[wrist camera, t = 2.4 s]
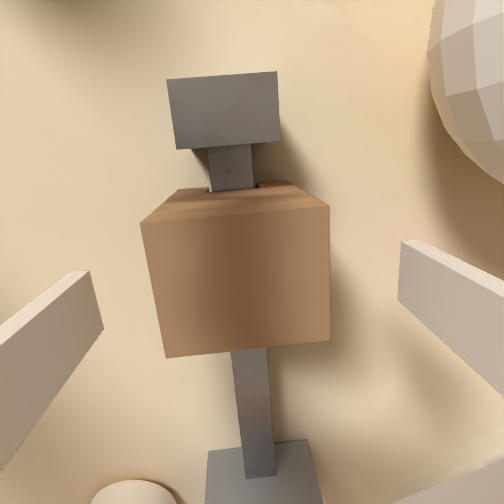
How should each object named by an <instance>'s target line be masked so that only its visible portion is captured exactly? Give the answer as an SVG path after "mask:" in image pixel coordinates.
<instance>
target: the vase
mask: <svg viewBox="0 0 504 504" xmlns="http://www.w3.org/2000/svg"><path fill="white" fill-rule="evenodd" d="M427 57H428V66H429V75H430V84H431V93H432V97H433V99H434V102H435V105H436V107H437V110H438V112H439V115H440V118H441V120H442V123H443V125H444V128H445V129H446V131H447V132H448V133H449V135H450V136H451V137H452V138H453V140H454V141H455V142H456V143H457V145H458V146H459V147H460V149H461V150H462V151H463V152H464V154H465V155H467V156H468V157H469V158H470V159H471V160H472V161H473V162H475V163H476V164H477V165H478V166H479V167H480V168H481V169H483V170H484V171H485V172H486V173H487V174H488V175H490V176H491V177H493V178H494V179H496V180H497V181H499V182H501V183H502V184H504V0H435V2H434V5H433V9H432V17H431V26H430V34H429V43H428V51H427Z"/></svg>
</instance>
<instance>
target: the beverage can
mask: <svg viewBox="0 0 504 504" xmlns="http://www.w3.org/2000/svg"><path fill="white" fill-rule="evenodd" d="M90 504H177V502H176V500H175V498H174V497H173V496H172V494H171V493H170V492H169V491H168V490H166V489H165V488H163V487H162V486H160V485H158V484H155V483H152V482H149V481H144V480H124V481H119V482H115V483H113V484H110V485H108V486H106V487H105V488H103V489H102V490H100V491H99V492H98V493H97V494H96V495H95V496H94V498H93V499H92V501H91V503H90Z"/></svg>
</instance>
